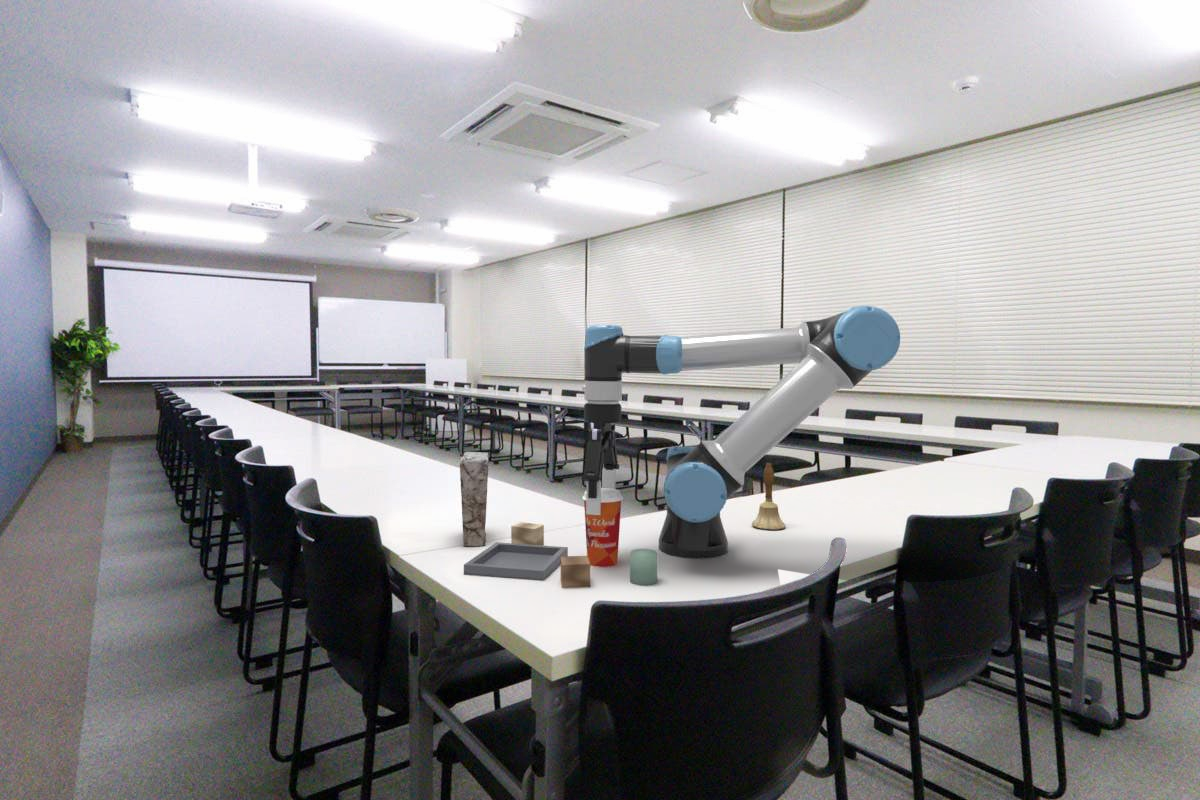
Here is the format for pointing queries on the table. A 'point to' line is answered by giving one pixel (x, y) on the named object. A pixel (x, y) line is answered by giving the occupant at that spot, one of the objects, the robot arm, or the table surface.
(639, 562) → the green tin
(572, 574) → the walnut cube
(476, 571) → the charcoal tray
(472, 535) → the stone block
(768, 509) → the hand bell
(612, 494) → the coffee cup
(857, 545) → the table surface
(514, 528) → the oak block
